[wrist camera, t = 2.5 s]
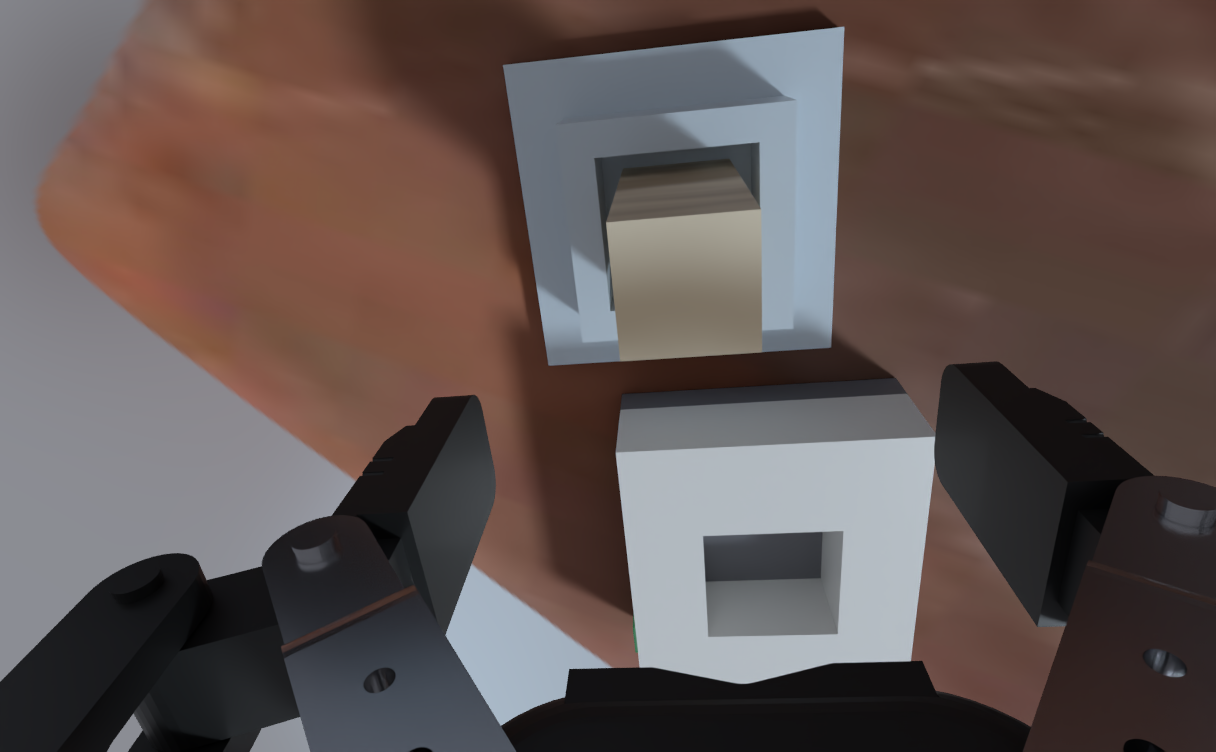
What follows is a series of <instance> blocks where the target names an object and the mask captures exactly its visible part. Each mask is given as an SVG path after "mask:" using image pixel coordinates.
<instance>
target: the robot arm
mask: <svg viewBox="0 0 1216 752" xmlns="http://www.w3.org/2000/svg"><path fill="white" fill-rule="evenodd" d="M934 459H935V466H936V470H937V474H938V477H939V479H940V482H941V483H942V485H943V487H944V488H945V490H946V491H947V492H948V494H949V495H950V497H951V498H952V500H953V501H954V503H955V504H956V506H957V507H958V509H959V510H960V512H961V513H962V515H963V516H964V518H965V519H966V521H967V522H968V524H969V525H970V527H971V528H972V530H973V531H974V533H975V534H976V536H977V537H978V539H979V540H980V542H981V543H982V545H983V546H984V548H985V549H986V551H987V552H988V554H989V555H990V557H991V558H992V560H993V561H994V563H995V564H996V566H997V567H998V569H999V570H1000V572H1001V573H1002V575H1003V576H1004V578H1005V579H1006V581H1007V582H1008V584H1009V585H1010V587H1011V588H1012V590H1013V591H1014V593H1015V594H1016V596H1017V597H1018V599H1019V600H1020V602H1021V603H1022V605H1023V606H1024V608H1025V609H1026V610H1027V612H1028V613H1029V615H1030V616H1031V618H1032V619H1033V621H1034V622H1035V624H1036V625H1037V627H1052V626H1065V629H1064V632H1063V635H1062V638H1061V641H1060V644H1059V647H1058V650H1057V653H1056V656H1055V659H1054V662H1053V665H1052V667H1051V670H1050V673H1049V676H1048V679H1047V682H1046V685H1045V688H1044V691H1043V694H1042V697H1041V700H1040V703H1039V706H1038V709H1037V711H1036V714H1035V717H1034V720H1033V723H1032V726H1031V727H1030V726H1028V725H1026V724H1025V723H1023V722H1021V721H1019V720H1017V719H1015V718H1013V717H1011V716H1009V715H1007V714H1005V713H1003V712H1001V711H998V710H996V709H994V708H991V707H989V706H986V705H984V704H981V703H978V702H976V701H973V700H970V699H967V698H963V697H959V696H956V695H952V694H949V693H944V692H939V691H935V689H934V687H933V684H932V682H931V680H930V677H929V675H928V673H927V671H926V668H925V666H924V664H923V662H922V661H899V662H856V663H830V664H826V665H822V666H818V667H814V668H810V669H806V670H802V671H798V672H794V673H790V674H786V675H782V676H778V677H774V678H770V679H766V680H762V681H758V682H754V683H748V684H738V683H731V682H726V681H721V680H716V679H711V678H706V677H700V676H695V675H690V674H685V673H680V672H675V671H669V670H664V669H659V668H654V667H641V668H598V669H569V675H568V682H567V689H566V696H565V698H561V699H558V700H553V701H551V702H548V703H545V704H542V705H540V706H537V707H534V708H532V709H530V710H529V711H526V712H524V713H522V714H520V715H518V716H516V717H515V718H513V719H511V720H510V721H508V722H506V723H505V724H503V725H502V726H500V724H499V723H498V721H497V719H496V718H495V716H494V714H493V713H492V711H491V709H490V708H489V706H488V705H487V703H486V701H485V700H484V698H483V696H482V695H481V693H480V692H479V690H478V688H477V687H476V685H475V683H474V682H473V680H472V678H471V677H470V675H469V673H468V672H467V670H466V669H465V667H464V665H463V664H462V662H461V660H460V659H459V657H458V655H457V654H456V652H455V651H454V649H453V647H452V646H451V644H450V643H449V641H448V639H447V637H446V636H445V634H446V631H447V629H448V626H449V623H450V621H451V618H452V615H453V612H454V610H455V606H456V604H457V601H458V599H459V596H460V593H461V591H462V587H463V585H464V582H465V580H466V577H467V574H468V572H469V569H470V566H471V563H472V561H473V558H474V555H475V553H476V550H477V547H478V544H479V542H480V539H481V536H482V534H483V531H484V528H485V525H486V523H487V520H488V517H489V515H490V512H491V509H492V506H493V503H494V499H495V488H496V481H495V471H494V465H493V460H492V455H491V451H490V446H489V441H488V436H487V431H486V426H485V421H484V416H483V411H482V407H481V404H480V401H479V399H478V397H477V396H475V395H468V396H453V397H437V398H433V399H432V400H431V402H430V403H429V405H428V406H427V408H426V409H425V411H424V412H423V414H422V415H421V417H420V418H419V420H418V421H417V423H416V425H412V426H405V427H404V428H403V429H401V430H400V431H398V432H397V433H396V434H394V435H393V436H391V437H390V438H389V439H387V440H386V441H385V442H384V443H383V444H382V446H381V447H380V449H379V450H378V451H377V453H376V454H375V456H374V457H373V462H370V463H369V464H368V465H367V467H366V468H365V470H364V471H363V472H362V473H363V476H360V477H359V478H358V479H357V481H356V482H355V484H354V485H353V487H352V488H351V489H350V491H349V492H348V494H347V495H346V496H345V498H344V499H343V501H342V502H341V503H340V505H339V506H338V508H337V509H336V511H335V512H334V513H333V515H332V516H328V517H323V518H319V519H315V520H312V521H309V522H306V523H304V524H302V525H300V526H298V527H296V528H294V529H292V530H290V531H288V532H287V533H285V534H284V535H282V536H281V537H280V538H279V539H277V540H276V541H275V542H274V543H273V544H272V545H271V546H270V547H269V549H268V550H267V551H266V553H265V555H264V557H263V560H262V566H261V567H258V568H254V569H250V570H246V571H242V572H238V573H235V574H230V575H226V576H222V577H218V578H214V579H210V580H206V578H205V576H204V574H203V572H202V569H201V567H200V565H199V562H198V561H197V560H196V559H195V558H194V557H193V556H190V555H187V554H180V553H174V554H164V555H160V556H155V557H151V558H148V559H145V560H142V561H139V562H137V563H134V564H132V565H129V566H127V567H125V568H123V569H121V570H119V571H118V572H116V573H114V574H112V575H111V576H109V577H108V578H106V579H105V580H103V581H102V582H100V583H99V584H98V585H97V586H95V587H94V588H93V589H92V590H91V591H90V592H89V593H88V594H87V595H86V596H85V597H84V598H83V599H82V600H81V601H80V602H79V603H78V604H77V605H76V606H75V607H74V608H73V609H72V610H71V611H70V612H69V613H68V614H67V615H66V616H65V617H64V618H63V619H62V620H61V621H60V622H59V623H58V624H57V625H56V626H55V627H54V628H53V629H52V630H51V631H50V632H49V633H48V634H47V635H46V636H45V637H44V638H43V639H42V640H41V641H40V642H39V643H38V645H36V646H35V647H34V648H33V650H31V651H30V652H29V653H28V654H27V655H26V656H25V657H24V658H23V659H22V660H21V661H20V662H19V663H18V664H17V666H16V667H14V669H13V670H12V671H11V672H10V673H9V674H8V675H7V676H6V677H5V678H4V679H3V680H2V681H1V682H0V752H107V750H108V748H109V747H110V745H111V743H112V742H113V740H114V739H115V738H116V736H117V735H118V733H119V732H120V731H121V729H122V728H123V727H124V725H125V724H126V723H127V721H128V720H129V719H130V717H131V716H132V714H133V713H134V715H135V717H136V719H137V720H138V722H139V723H140V726H141V728H142V729H143V731H142V733H141V734H140V735H139V737H138V738H137V739H136V741H135V742H134V744H133V745H132V747H131V748H130V749H129V751H128V752H250V749H251V748H252V746H253V744H254V742H255V740H256V738H257V736H258V734H259V733H260V730H261V728H264V727H268V726H271V725H274V724H277V723H281V722H284V721H287V720H291V719H294V718H297V717H301V720H302V724H303V727H304V731H305V735H306V738H307V741H308V745H309V748H310V752H1216V487H1213V486H1210V485H1207V484H1204V483H1200V482H1196V481H1192V480H1187V479H1182V478H1176V477H1168V476H1154V475H1153V474H1152V473H1151V472H1149V471H1148V470H1147V469H1146V468H1145V467H1143V466H1142V465H1141V464H1140V463H1139V462H1137V461H1136V460H1135V459H1134V458H1133V457H1131V456H1130V455H1129V454H1128V453H1127V452H1126V451H1124V450H1123V449H1122V448H1121V447H1120V446H1118V445H1117V444H1116V443H1115V442H1114V441H1112V440H1111V439H1110V438H1109V437H1104V435H1103V432H1102V431H1100V430H1099V429H1098V428H1097V427H1096V426H1095V425H1093V424H1092V423H1091V422H1087V421H1086V418H1085V417H1084V416H1083V415H1081V414H1080V413H1079V412H1078V411H1077V410H1075V409H1074V408H1073V407H1072V406H1071V405H1069V404H1068V403H1067V402H1066V401H1063V400H1061V399H1059V398H1057V397H1054V396H1052V395H1050V394H1048V393H1045V392H1043V391H1041V390H1039V389H1036V388H1028V387H1027V386H1026V385H1025V384H1024V383H1023V382H1022V381H1020V380H1019V379H1018V378H1017V377H1016V376H1015V375H1014V374H1012V373H1011V372H1010V371H1009V370H1008V369H1007V368H1006V367H1005V366H1003V365H1002V364H1001V363H1000V362H982V363H967V364H951V365H948V366H947V367H946V368H945V370H944V372H943V375H942V380H941V388H940V398H939V407H938V416H937V425H936V434H935V443H934Z"/></svg>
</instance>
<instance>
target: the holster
mask: <svg viewBox="0 0 1216 752" xmlns="http://www.w3.org/2000/svg"><path fill="white" fill-rule="evenodd" d="M843 45H844V27H838V28H829V29H820V30H811V31H802V32H793V33H784V34H775V35H767V36H758V37H749V38H740V39H731V40H722V41H713V42H704V43H695V44H686V45H677V46H669V47H660V48H651V49H642V50H633V51H624V52H615V53H606V54H597V55H588V56H579V57H570V58H562V59H553V60H544V61H535V62H526V63H517V64H508V65H503V68H504V75H505V82H506V88H507V95H508V101H509V108H510V115H511V121H512V128H513V134H514V141H515V148H516V154H517V161H518V167H519V174H520V180H521V187H522V194H523V200H524V207H525V213H526V220H527V227H528V233H529V240H530V246H531V253H532V260H533V266H534V273H535V279H536V286H537V292H538V299H539V306H540V312H541V319H542V325H543V332H544V339H545V345H546V352H547V358H548V365H549V366H552V365H568V364H583V363H599V362H615V361H620V354H619V344H618V334H617V325H616V315H615V305H614V295H613V286H612V276H611V266H610V256H609V247H608V237H607V227H606V221H607V218H608V215H609V211H610V208H611V205H612V202H613V199H614V196H615V192H616V189H617V186H618V183H619V180H620V177H621V173H622V170H623V168H634V167H644V166H655V165H666V164H676V163H687V162H698V161H708V160H719V159H730V160H731V162H732V163H733V165H734V167H735V168H736V170H737V171H738V173H739V175H740V176H741V178H742V179H743V181H744V182H745V184H746V186H747V187H748V189H749V190H750V192H751V194H752V195H753V197H754V198H755V200H756V201H757V203H758V205H759V206H760V208H761V234H762V352H771V351H787V350H802V349H818V348H831V336H832V312H833V287H834V263H835V239H836V215H837V190H838V166H839V142H840V118H841V93H842V69H843Z"/></svg>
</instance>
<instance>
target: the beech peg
mask: <svg viewBox="0 0 1216 752" xmlns="http://www.w3.org/2000/svg"><path fill="white" fill-rule="evenodd" d="M606 227H607V237H608V247H609V256H610V266H611V276H612V286H613V295H614V305H615V315H616V325H617V334H618V344H619V354H620V361H636V360H651V359H667V358H682V357H698V356H714V355H729V354H745V353H761V352H762V234H761V208H760V206H759V205H758V203H757V201H756V200H755V198H754V197H753V195H752V194H751V192H750V190H749V189H748V187H747V186H746V184H745V182H744V181H743V179H742V178H741V176H740V175H739V173H738V171H737V170H736V168H735V167H734V165H733V163H732V162H731V160H730V159H719V160H708V161H698V162H687V163H676V164H666V165H655V166H644V167H634V168H623V170H622V173H621V177H620V180H619V183H618V186H617V189H616V192H615V196H614V199H613V202H612V205H611V208H610V211H609V215H608V218H607V221H606Z"/></svg>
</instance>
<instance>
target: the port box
mask: <svg viewBox="0 0 1216 752" xmlns="http://www.w3.org/2000/svg"><path fill="white" fill-rule="evenodd" d="M935 434H936V433H935V432H934V431H933V429H932V428H931V426H930V425H929V424H928V422H927V421H926V419H925V418H924V417H923V415H922V414H921V413H920V411H919V410H918V408H917V407H916V406H915V404H914V403H913V401H912V400H911V399H910V397H909V396H908V394H907V393H906V392H905V390H904V389H903V387H902V386H901V385H900V383H899V382H898V380H897V379H896V378H888V379H871V380H854V381H837V382H820V383H803V384H786V385H769V386H752V387H735V388H718V389H701V390H684V391H667V392H650V393H632V394H622V400H621V409H620V418H619V427H618V436H617V445H616V460H617V469H618V478H619V487H620V496H621V505H622V514H623V523H624V532H625V540H626V549H627V558H628V567H629V576H630V585H631V594H632V603H633V611H634V614H633V634H634V643H635V651H636V652H638V656H639V665H640V668H641V667H654V668H659V669H664V670H669V671H675V672H680V673H685V674H690V675H695V676H700V677H706V678H711V679H716V680H721V681H726V682H731V683H738V684H748V683H754V682H758V681H762V680H766V679H770V678H774V677H778V676H782V675H786V674H790V673H794V672H798V671H802V670H806V669H810V668H814V667H818V666H822V665H826V664H830V663H856V662H899V661H911V654H912V646H913V637H914V629H915V621H916V613H917V604H918V596H919V588H920V580H921V571H922V563H923V555H924V546H925V538H926V530H927V522H928V513H929V505H930V497H931V488H932V480H933V472H934V464H935V459H934V443H935Z"/></svg>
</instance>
